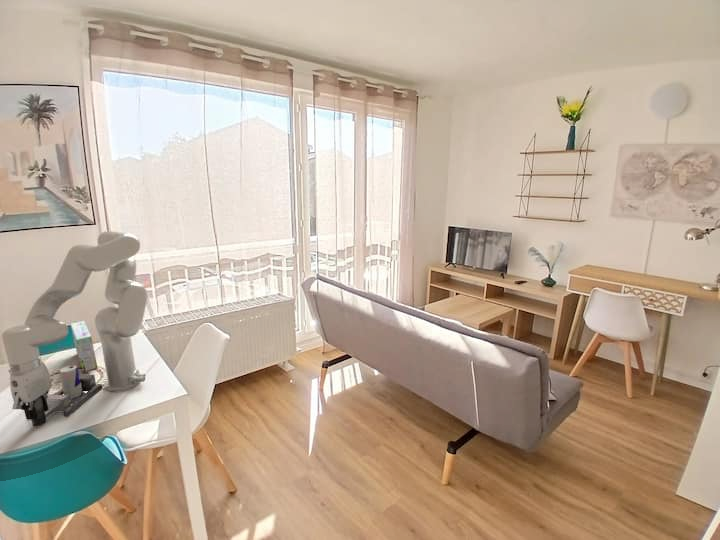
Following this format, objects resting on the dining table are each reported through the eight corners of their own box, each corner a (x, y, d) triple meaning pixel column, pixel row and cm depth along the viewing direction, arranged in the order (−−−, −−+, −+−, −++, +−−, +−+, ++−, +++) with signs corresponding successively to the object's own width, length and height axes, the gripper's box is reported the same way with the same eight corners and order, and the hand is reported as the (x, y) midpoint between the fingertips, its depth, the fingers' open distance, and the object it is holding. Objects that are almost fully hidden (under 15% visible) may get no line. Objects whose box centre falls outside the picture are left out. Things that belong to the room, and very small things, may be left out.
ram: (71, 407, 132) (66, 382, 130) (47, 426, 122) (41, 399, 120) (48, 406, 133) (43, 381, 130) (23, 426, 123) (16, 399, 120)
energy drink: (86, 393, 142) (81, 364, 139) (76, 401, 136) (70, 372, 133) (72, 393, 141) (66, 364, 138) (61, 402, 136) (55, 372, 133)
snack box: (75, 354, 171) (69, 323, 167) (90, 350, 175) (85, 320, 171) (82, 372, 156) (76, 339, 152) (98, 368, 160) (92, 335, 156)
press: (102, 388, 145) (99, 374, 143) (68, 416, 128) (64, 401, 127) (70, 387, 145) (67, 373, 143) (32, 416, 128) (28, 400, 127)
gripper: (13, 378, 111) (27, 432, 115) (58, 352, 127) (68, 400, 131) (-12, 378, 111) (2, 431, 115) (36, 351, 127) (47, 399, 132)
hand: (37, 414), depth 123 cm, fingers closed on ram, 3 cm apart
